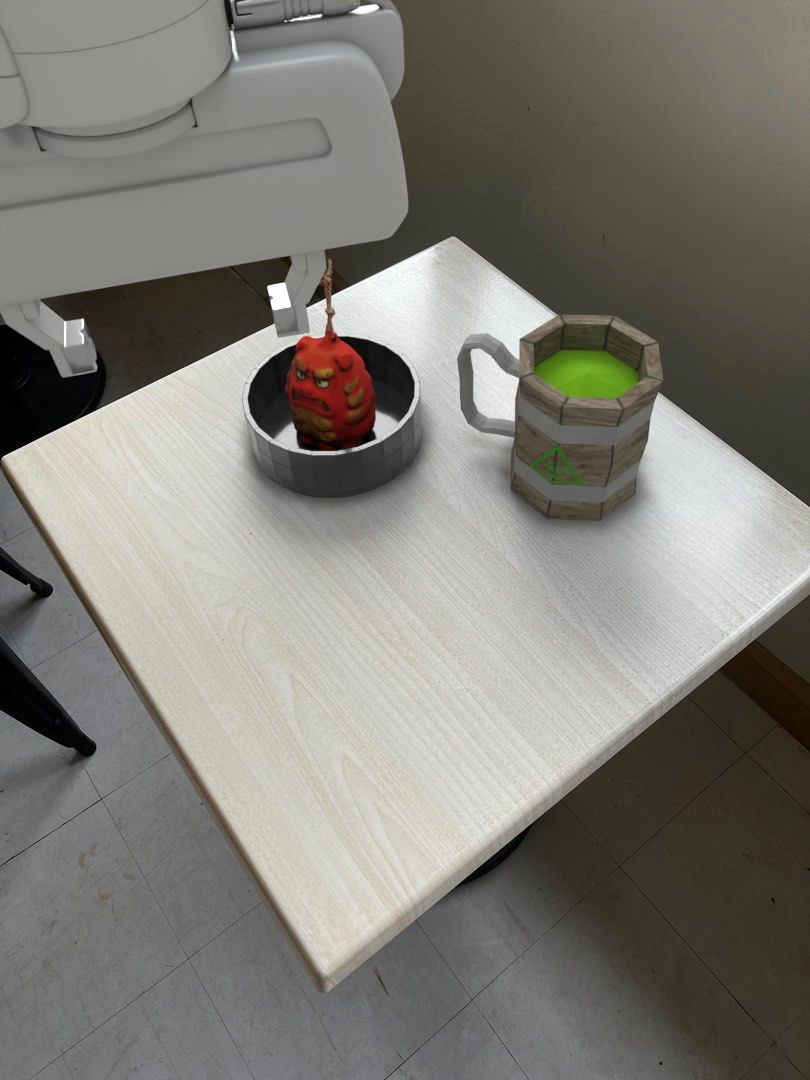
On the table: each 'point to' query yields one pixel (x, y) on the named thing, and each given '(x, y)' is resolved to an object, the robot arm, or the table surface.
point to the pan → (344, 468)
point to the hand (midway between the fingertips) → (187, 346)
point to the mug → (573, 411)
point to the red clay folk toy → (330, 388)
